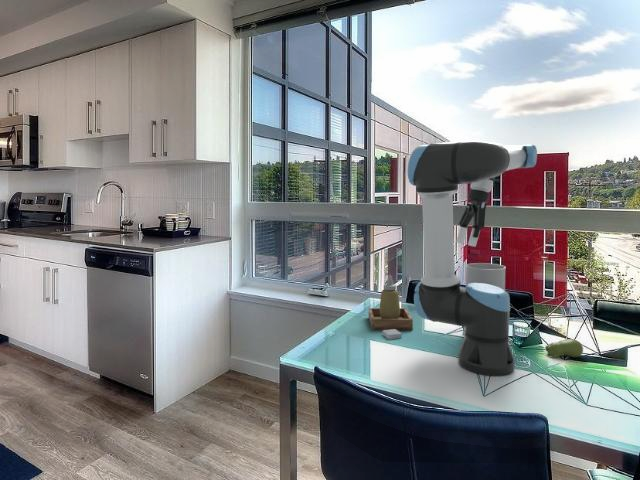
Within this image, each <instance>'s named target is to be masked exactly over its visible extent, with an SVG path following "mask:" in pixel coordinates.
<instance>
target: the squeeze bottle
mask: <svg viewBox="0 0 640 480" xmlns="http://www.w3.org/2000/svg"><path fill="white" fill-rule="evenodd" d="M399 294H400V293H399V291H398V290H397V285H396V284H394V282H393V277H392V275H391V274H390V275H389V274H388V276H387V279H386V283H385V284H383V289H382V290H381V293H380V301H379V302H380V303H379V308H380V310H379V312H380V315H381V319H398V318H399V315H400V308H401V306H400V296H399Z"/></svg>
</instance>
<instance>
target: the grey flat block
mask: <svg viewBox="0 0 640 480" xmlns="http://www.w3.org/2000/svg"><path fill="white" fill-rule="evenodd" d="M402 335H403V334H402V332H400V330H396V329H390V330H382V336H383V337H385V338H386V339H387V341H388V340H396V339H397V340H398V339H402Z"/></svg>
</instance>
